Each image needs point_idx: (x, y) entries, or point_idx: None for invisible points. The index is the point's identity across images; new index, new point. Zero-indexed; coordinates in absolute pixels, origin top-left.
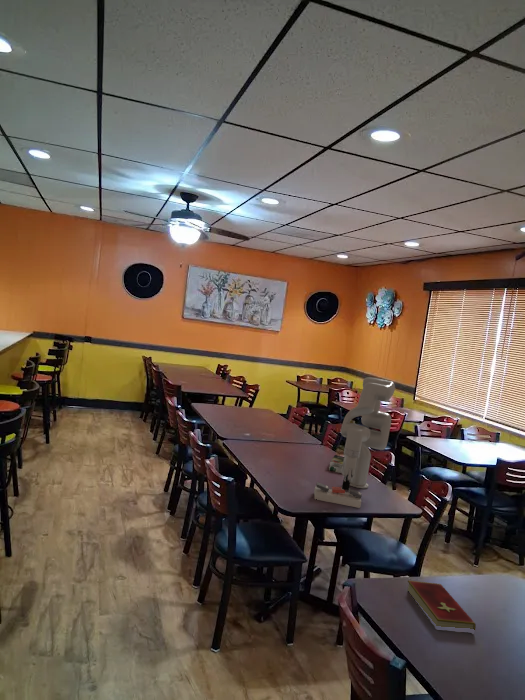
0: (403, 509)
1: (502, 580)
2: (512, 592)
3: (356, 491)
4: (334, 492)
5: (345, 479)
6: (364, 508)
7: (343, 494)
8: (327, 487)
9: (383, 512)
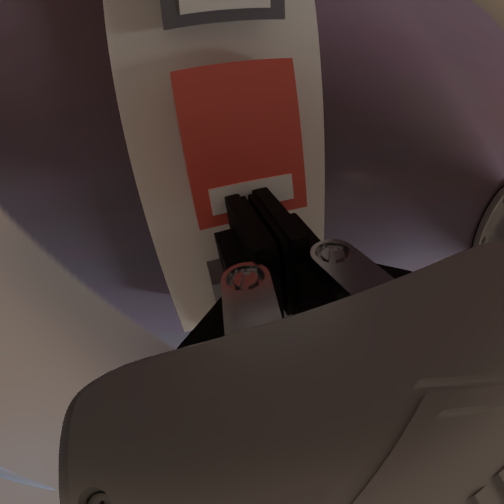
0: None
1: (40, 483)
2: (17, 480)
3: (284, 311)
4: None
5: (223, 313)
6: None
7: None
8: (209, 4)
9: None
